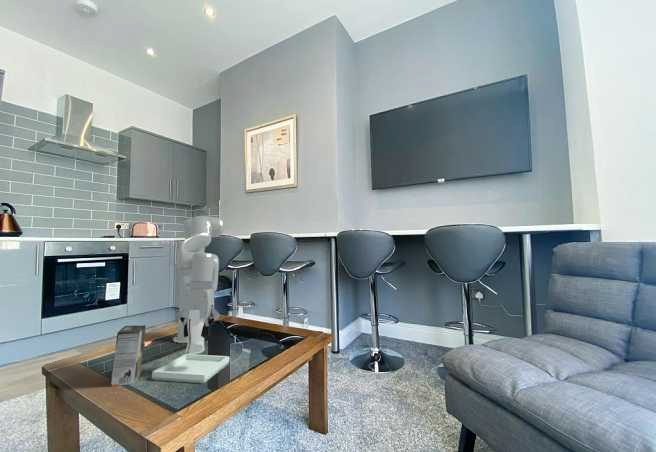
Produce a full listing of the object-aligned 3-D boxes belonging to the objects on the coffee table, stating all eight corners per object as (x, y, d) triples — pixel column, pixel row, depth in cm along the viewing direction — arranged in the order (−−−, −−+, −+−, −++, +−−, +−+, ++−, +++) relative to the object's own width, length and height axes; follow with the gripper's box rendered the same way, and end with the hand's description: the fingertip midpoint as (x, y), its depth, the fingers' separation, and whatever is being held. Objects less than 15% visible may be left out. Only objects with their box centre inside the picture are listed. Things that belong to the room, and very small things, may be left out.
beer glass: (197, 355, 94) (201, 310, 96) (179, 353, 96) (184, 309, 98) (209, 349, 101) (213, 307, 103) (193, 347, 102) (197, 306, 104)
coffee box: (118, 375, 92) (124, 325, 94) (141, 373, 95) (146, 324, 97) (109, 387, 84) (116, 332, 86) (134, 383, 86) (140, 330, 88)
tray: (185, 360, 107) (185, 353, 108) (229, 363, 105) (229, 356, 106) (151, 379, 89) (152, 371, 90) (204, 383, 88) (204, 375, 88)
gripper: (172, 286, 99) (167, 338, 96) (218, 287, 97) (214, 340, 94) (184, 284, 106) (180, 333, 103) (227, 286, 104) (224, 335, 102)
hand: (196, 336), depth 99 cm, fingers closed on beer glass, 6 cm apart
